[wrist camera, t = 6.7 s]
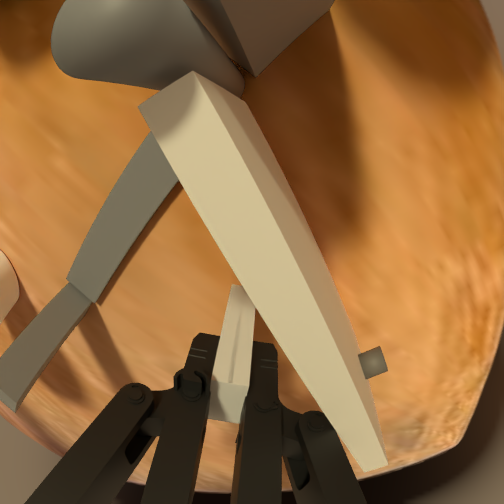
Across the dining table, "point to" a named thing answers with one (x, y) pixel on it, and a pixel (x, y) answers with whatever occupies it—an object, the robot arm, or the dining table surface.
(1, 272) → the cup
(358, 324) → the dining table surface
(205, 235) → the dining table surface
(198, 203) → the curved cream plank
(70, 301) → the grey u-shaped bar
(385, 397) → the dining table surface
